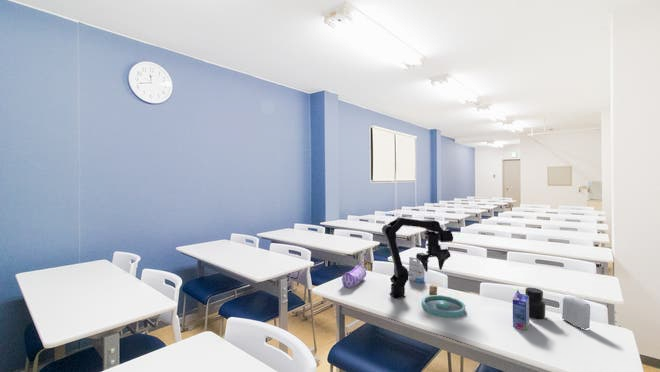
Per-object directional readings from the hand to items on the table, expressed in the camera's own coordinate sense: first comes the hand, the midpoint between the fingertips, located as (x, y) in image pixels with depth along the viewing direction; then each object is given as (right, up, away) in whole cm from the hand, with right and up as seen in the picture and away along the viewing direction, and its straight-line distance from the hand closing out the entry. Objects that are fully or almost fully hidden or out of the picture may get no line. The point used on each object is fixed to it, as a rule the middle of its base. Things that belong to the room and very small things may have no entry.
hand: (433, 270), depth 165 cm
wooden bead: (0, -13, 0) cm, 13 cm away
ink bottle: (+39, -14, -24) cm, 48 cm away
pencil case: (-42, -13, +18) cm, 48 cm away
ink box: (-3, -13, +22) cm, 26 cm away
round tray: (-1, -14, -17) cm, 22 cm away
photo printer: (+51, -15, -33) cm, 63 cm away
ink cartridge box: (+27, -15, -33) cm, 45 cm away
